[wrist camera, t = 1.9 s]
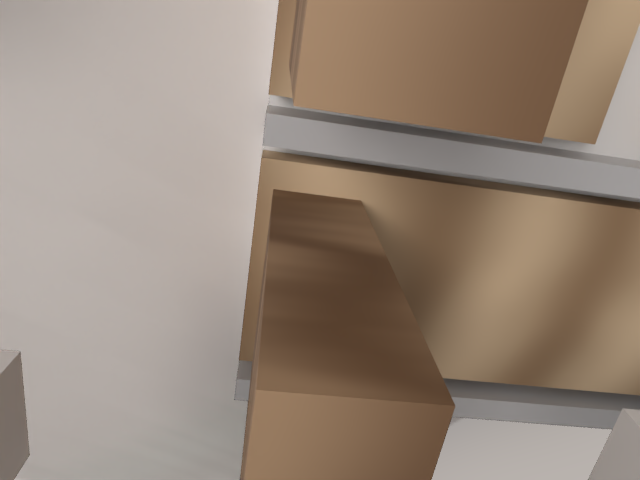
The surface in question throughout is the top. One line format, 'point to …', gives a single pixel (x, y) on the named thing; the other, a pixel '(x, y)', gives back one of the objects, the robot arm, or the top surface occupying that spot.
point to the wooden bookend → (458, 62)
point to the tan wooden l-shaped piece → (420, 309)
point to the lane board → (495, 166)
